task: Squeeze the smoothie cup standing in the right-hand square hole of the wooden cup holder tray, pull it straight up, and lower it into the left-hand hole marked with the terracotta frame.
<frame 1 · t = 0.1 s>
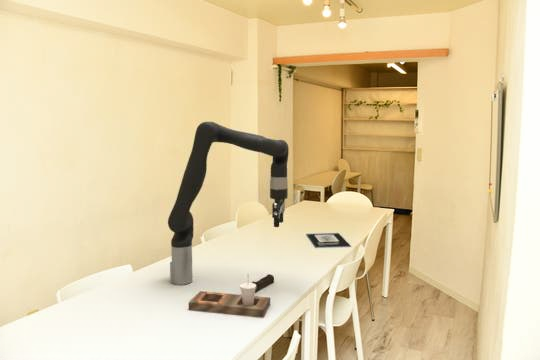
hand: (278, 224, 191), 29 cm above the table, tool pointing down, fingers open, 8 cm apart
hand tool: (260, 289, 196), on the table
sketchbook: (327, 241, 275), on the table
smoothie: (248, 309, 175), resting in wooden cup holder tray
wooden cup holder tray: (230, 307, 176), on the table
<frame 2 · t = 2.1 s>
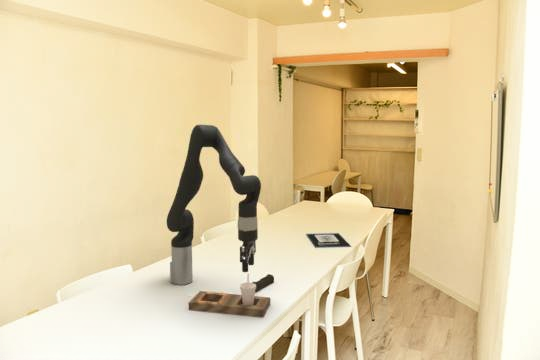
hand: (248, 268, 173), 17 cm above the table, tool pointing down, fingers open, 8 cm apart
nothing on the table moved.
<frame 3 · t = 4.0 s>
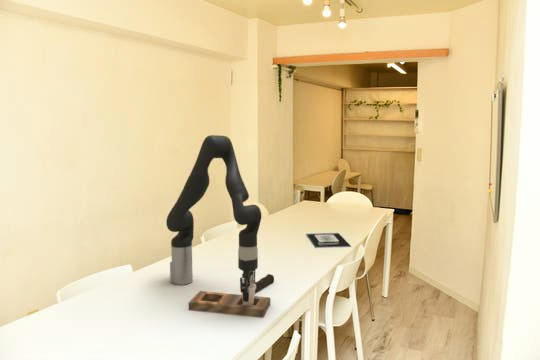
hand: (248, 297, 174), 5 cm above the table, tool pointing down, fingers closed on smoothie, 6 cm apart
smoothie: (248, 309, 175), resting in wooden cup holder tray, touching gripper
everything else where it was.
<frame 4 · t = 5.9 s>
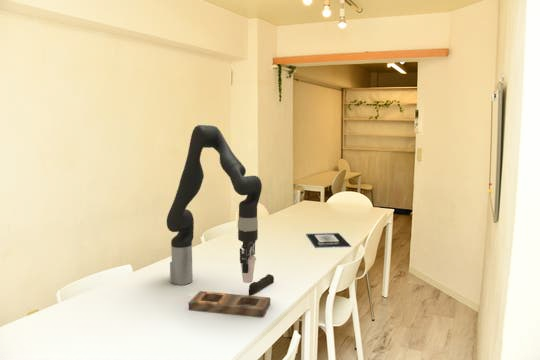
hand: (247, 269, 173), 16 cm above the table, tool pointing down, fingers closed on smoothie, 6 cm apart
smoothie: (247, 281, 173), point 11 cm above the table, touching gripper
everything else where it was.
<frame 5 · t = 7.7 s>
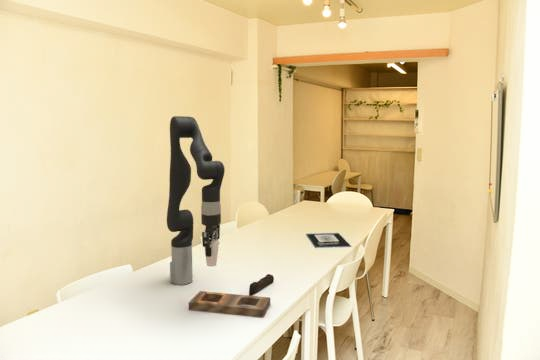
hand: (211, 253, 175), 21 cm above the table, tool pointing down, fingers closed on smoothie, 6 cm apart
smoothie: (211, 265, 176), point 16 cm above the table, touching gripper
everything else where it was.
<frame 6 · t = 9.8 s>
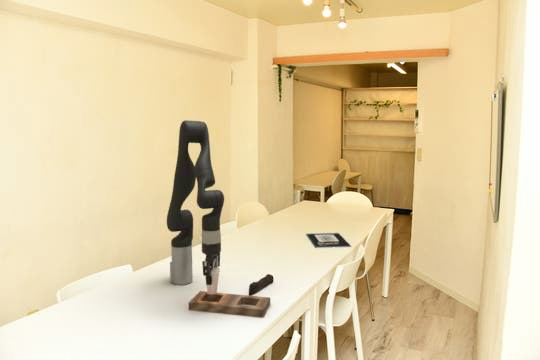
hand: (212, 281, 177), 10 cm above the table, tool pointing down, fingers closed on smoothie, 6 cm apart
smoothie: (212, 293, 177), point 5 cm above the table, touching gripper
everything else where it was.
when the fingers open (6 cm above the table, at t = 11.7 s): smoothie drops 1 cm, resting in wooden cup holder tray.
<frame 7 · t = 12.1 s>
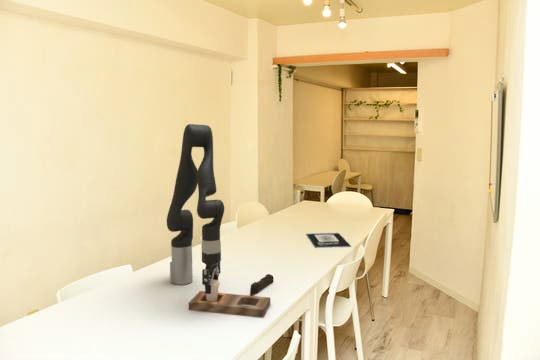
hand: (211, 289, 177), 7 cm above the table, tool pointing down, fingers open, 8 cm apart
smoothie: (212, 305, 178), resting in wooden cup holder tray
everything else where it was.
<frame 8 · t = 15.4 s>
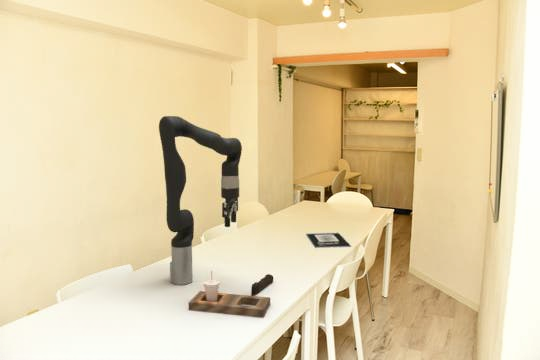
hand: (230, 224, 187), 30 cm above the table, tool pointing down, fingers open, 8 cm apart
nothing on the table moved.
at the end: smoothie 0.1 cm from the target spot on the wooden cup holder tray, point 0.0 cm above the wooden cup holder tray's base; smoothie tilted 0°; the gripper is holding nothing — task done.
